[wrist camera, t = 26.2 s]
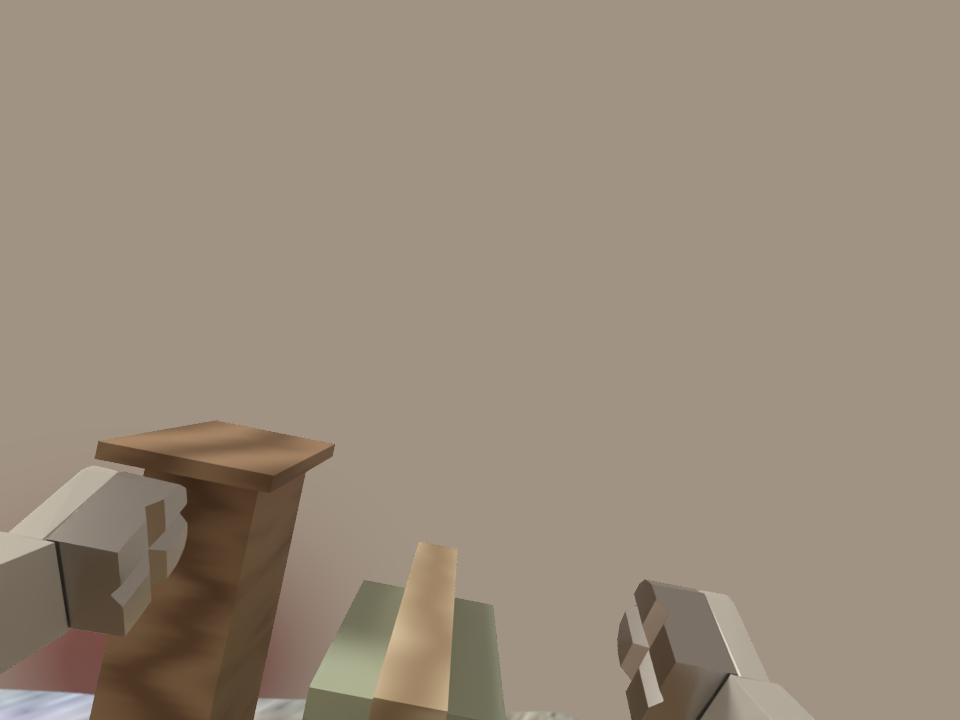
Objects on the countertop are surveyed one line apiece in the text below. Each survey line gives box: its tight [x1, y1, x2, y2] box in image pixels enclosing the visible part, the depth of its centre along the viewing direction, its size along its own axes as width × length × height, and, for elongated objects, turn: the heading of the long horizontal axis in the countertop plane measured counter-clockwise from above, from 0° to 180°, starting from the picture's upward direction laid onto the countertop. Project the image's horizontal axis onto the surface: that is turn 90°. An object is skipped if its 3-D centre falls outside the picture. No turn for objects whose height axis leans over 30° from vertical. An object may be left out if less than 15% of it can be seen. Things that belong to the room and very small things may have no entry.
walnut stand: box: [89, 421, 335, 720], centre depth 37 cm, size 10×14×26 cm
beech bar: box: [369, 542, 457, 720], centre depth 31 cm, size 3×20×4 cm, turn 1°
